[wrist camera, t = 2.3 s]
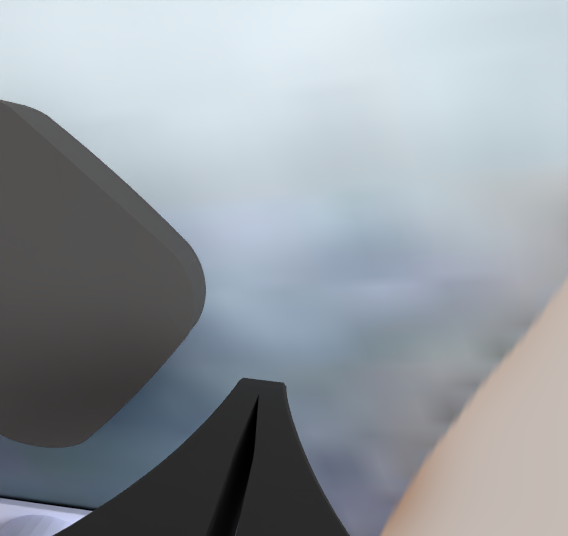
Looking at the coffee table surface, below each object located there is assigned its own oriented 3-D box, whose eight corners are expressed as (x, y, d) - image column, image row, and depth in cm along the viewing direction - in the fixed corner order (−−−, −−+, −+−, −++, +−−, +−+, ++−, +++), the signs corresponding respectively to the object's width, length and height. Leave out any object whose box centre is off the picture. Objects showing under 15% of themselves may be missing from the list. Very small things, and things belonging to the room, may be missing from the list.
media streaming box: (0, 64, 15) (-70, 39, 13) (239, 282, 18) (225, 303, 15) (-129, 281, 19) (-207, 301, 16) (83, 441, 21) (47, 484, 18)
